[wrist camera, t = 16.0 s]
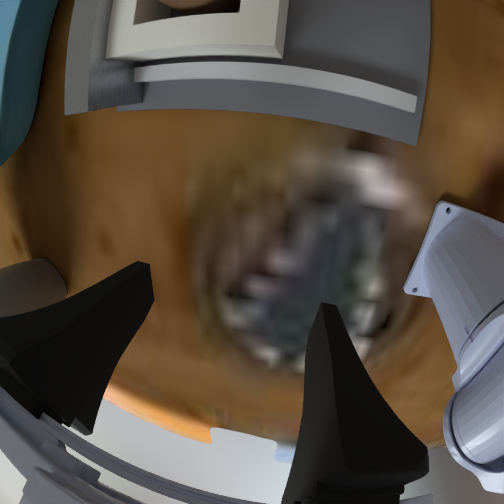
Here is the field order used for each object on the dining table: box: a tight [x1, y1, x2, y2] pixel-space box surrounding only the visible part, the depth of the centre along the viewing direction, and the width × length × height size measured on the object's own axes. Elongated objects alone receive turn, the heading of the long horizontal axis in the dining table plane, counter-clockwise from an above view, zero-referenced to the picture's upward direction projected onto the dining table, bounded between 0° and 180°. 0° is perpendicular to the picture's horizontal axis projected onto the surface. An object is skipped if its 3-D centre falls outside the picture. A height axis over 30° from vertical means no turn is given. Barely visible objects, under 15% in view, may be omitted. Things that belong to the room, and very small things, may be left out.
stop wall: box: [65, 0, 145, 115], centre depth 9 cm, size 2×15×6 cm, turn 174°
